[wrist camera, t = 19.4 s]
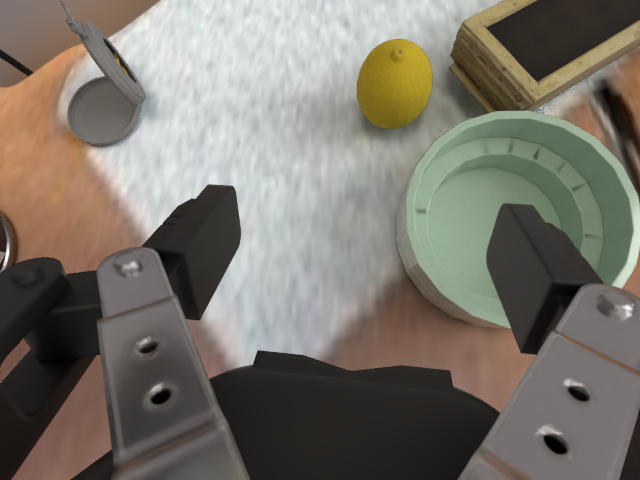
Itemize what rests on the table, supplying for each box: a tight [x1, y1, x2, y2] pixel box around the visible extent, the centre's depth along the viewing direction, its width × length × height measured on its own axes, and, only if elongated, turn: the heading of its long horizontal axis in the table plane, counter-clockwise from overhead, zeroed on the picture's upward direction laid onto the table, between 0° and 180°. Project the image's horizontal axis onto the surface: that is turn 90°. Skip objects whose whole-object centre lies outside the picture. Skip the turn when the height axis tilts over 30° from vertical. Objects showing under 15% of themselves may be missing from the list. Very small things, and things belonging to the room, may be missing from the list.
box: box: [449, 0, 640, 113], centre depth 30 cm, size 8×22×5 cm, turn 125°
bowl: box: [396, 111, 640, 329], centre depth 27 cm, size 14×14×6 cm
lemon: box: [357, 39, 433, 129], centre depth 28 cm, size 6×6×8 cm
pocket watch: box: [61, 0, 146, 146], centre depth 30 cm, size 8×8×10 cm
